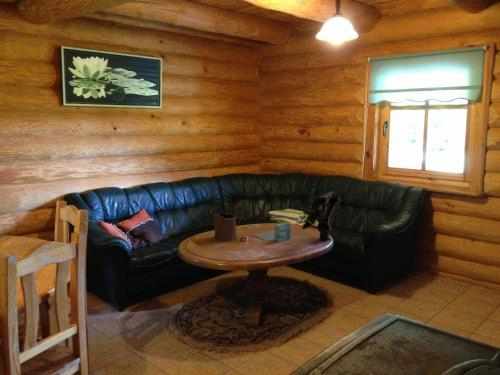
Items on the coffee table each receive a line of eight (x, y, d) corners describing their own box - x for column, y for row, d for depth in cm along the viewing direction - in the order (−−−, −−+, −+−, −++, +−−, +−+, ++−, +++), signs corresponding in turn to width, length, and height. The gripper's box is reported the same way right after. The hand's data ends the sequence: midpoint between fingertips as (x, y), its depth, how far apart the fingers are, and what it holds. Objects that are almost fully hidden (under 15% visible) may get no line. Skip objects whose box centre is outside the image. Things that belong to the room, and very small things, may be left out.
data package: (278, 242, 317) (278, 226, 315) (274, 241, 320) (274, 225, 318) (290, 239, 324) (290, 223, 322) (286, 237, 328) (286, 222, 326)
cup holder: (209, 237, 331) (208, 204, 327) (237, 232, 342) (237, 201, 338) (219, 243, 315) (218, 209, 311) (248, 238, 326) (248, 206, 322)
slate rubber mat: (274, 230, 348) (274, 230, 347) (290, 236, 331) (290, 235, 331) (251, 235, 335) (251, 234, 335) (267, 241, 319) (267, 241, 319)
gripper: (309, 204, 322) (294, 220, 323) (309, 205, 303) (293, 221, 304) (320, 215, 320) (306, 230, 322) (321, 216, 302) (305, 232, 303)
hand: (302, 228), depth 313 cm, fingers open, 9 cm apart
